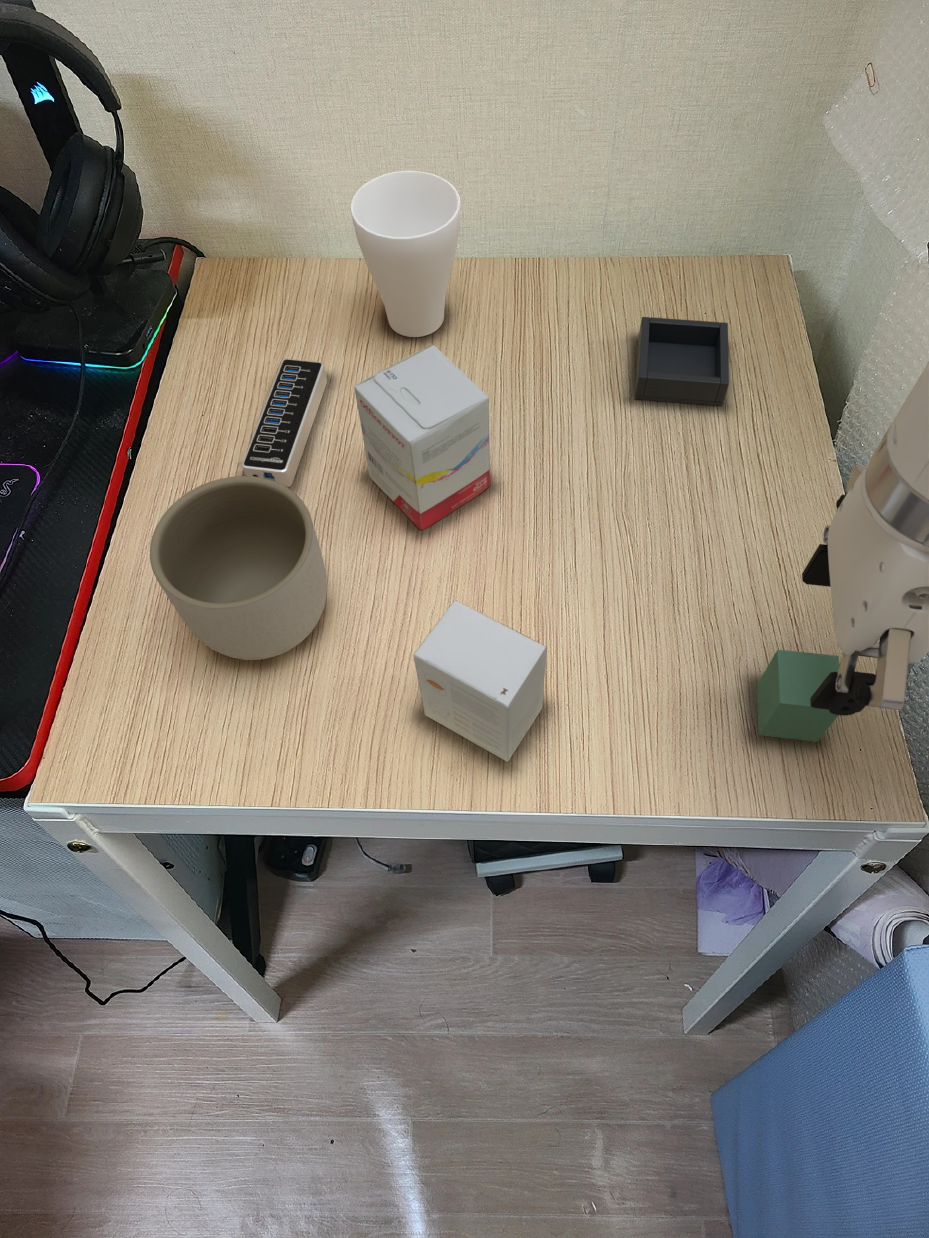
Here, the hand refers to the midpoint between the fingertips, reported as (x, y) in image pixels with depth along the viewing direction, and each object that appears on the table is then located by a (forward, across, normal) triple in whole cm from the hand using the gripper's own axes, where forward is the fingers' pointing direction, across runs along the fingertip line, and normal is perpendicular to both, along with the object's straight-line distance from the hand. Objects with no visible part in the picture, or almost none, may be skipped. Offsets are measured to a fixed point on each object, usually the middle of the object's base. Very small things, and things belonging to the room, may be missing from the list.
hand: (828, 641), depth 59 cm
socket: (+12, +37, +8) cm, 40 cm away
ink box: (+12, +20, +31) cm, 39 cm away
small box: (+12, -3, +23) cm, 26 cm away
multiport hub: (+13, +25, +46) cm, 54 cm away
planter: (+13, +4, +43) cm, 45 cm away
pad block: (+12, 0, -1) cm, 12 cm away
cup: (+13, +42, +36) cm, 57 cm away
